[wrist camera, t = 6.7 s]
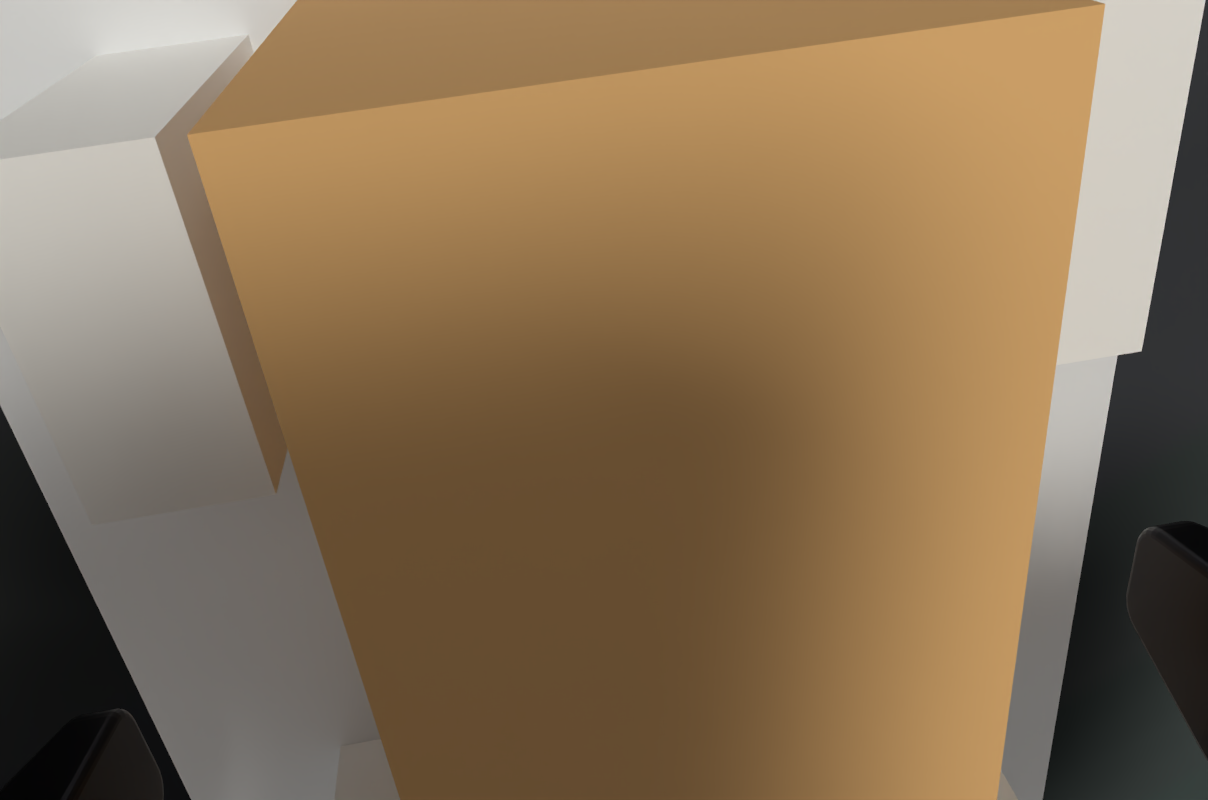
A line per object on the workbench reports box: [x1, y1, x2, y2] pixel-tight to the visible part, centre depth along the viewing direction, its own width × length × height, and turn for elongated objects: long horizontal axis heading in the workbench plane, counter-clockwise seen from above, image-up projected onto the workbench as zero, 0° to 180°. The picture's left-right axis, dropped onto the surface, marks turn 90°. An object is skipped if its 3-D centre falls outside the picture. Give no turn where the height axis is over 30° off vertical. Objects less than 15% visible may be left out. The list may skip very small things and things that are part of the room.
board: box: [0, 0, 1205, 800], centre depth 11 cm, size 11×20×4 cm, turn 6°
